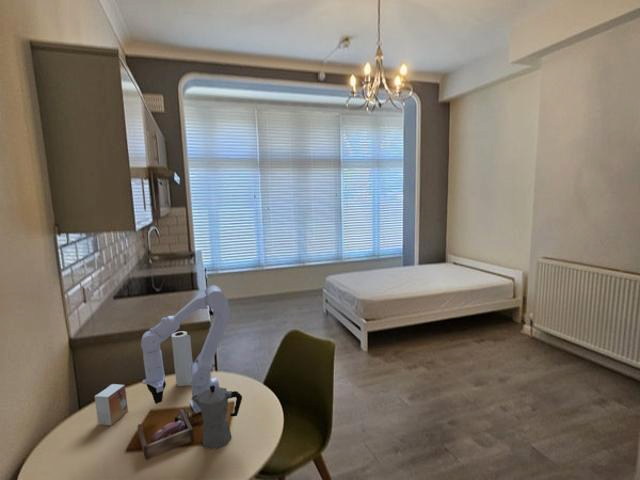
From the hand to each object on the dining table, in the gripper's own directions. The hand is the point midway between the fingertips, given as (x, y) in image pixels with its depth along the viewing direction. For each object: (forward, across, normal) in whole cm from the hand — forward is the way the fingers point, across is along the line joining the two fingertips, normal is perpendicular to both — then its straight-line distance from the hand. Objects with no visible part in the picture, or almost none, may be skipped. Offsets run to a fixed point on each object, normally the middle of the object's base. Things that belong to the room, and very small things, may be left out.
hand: (158, 402), depth 123 cm
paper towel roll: (+6, -17, +13) cm, 22 cm away
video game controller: (+6, +15, 0) cm, 16 cm away
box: (+5, +14, -1) cm, 15 cm away
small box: (+5, -9, -14) cm, 17 cm away
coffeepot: (+6, +25, +13) cm, 29 cm away
